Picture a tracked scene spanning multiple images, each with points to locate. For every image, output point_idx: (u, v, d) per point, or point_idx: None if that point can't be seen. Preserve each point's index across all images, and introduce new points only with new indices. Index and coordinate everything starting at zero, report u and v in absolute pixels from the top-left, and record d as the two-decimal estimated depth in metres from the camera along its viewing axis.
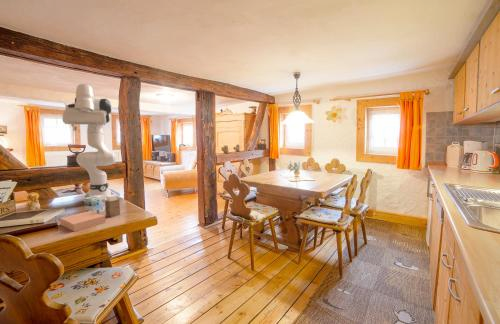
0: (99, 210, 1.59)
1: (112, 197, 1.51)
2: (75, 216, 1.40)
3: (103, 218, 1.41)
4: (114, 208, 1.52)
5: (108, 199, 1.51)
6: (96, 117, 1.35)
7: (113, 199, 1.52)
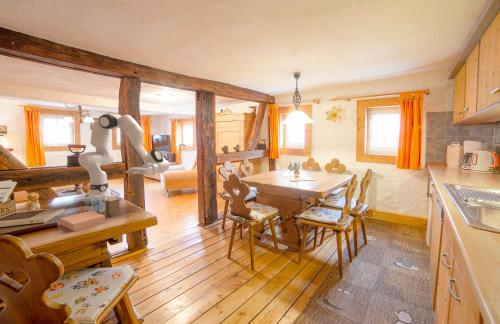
0: (99, 210, 1.59)
1: (112, 197, 1.51)
2: (75, 216, 1.40)
3: (103, 218, 1.41)
4: (114, 208, 1.52)
5: (108, 199, 1.51)
6: None
7: (113, 199, 1.52)
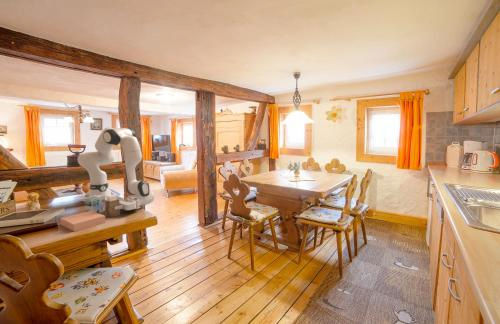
0: (99, 210, 1.59)
1: (112, 197, 1.51)
2: (75, 216, 1.40)
3: (103, 218, 1.41)
4: None
5: (108, 199, 1.51)
6: None
7: (113, 199, 1.52)
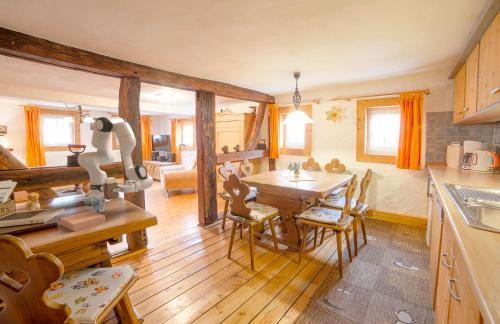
0: (99, 210, 1.59)
1: (110, 179, 1.50)
2: (75, 216, 1.40)
3: (103, 218, 1.41)
4: None
5: (106, 181, 1.49)
6: None
7: (111, 181, 1.50)
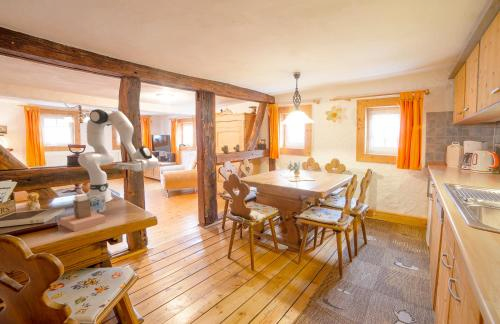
0: (99, 210, 1.59)
1: (81, 197, 1.36)
2: None
3: (103, 218, 1.41)
4: (84, 209, 1.37)
5: (77, 199, 1.36)
6: None
7: (82, 199, 1.37)
